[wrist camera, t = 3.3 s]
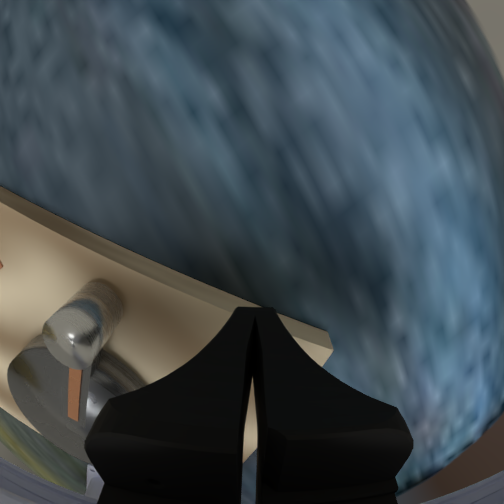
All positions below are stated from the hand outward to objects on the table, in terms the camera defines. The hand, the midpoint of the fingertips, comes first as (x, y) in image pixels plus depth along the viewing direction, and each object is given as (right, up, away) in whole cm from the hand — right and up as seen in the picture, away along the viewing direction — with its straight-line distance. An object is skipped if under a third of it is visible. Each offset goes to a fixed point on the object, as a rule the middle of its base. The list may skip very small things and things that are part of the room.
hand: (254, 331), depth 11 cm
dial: (-9, -4, +3) cm, 10 cm away
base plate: (-9, -5, +5) cm, 12 cm away
